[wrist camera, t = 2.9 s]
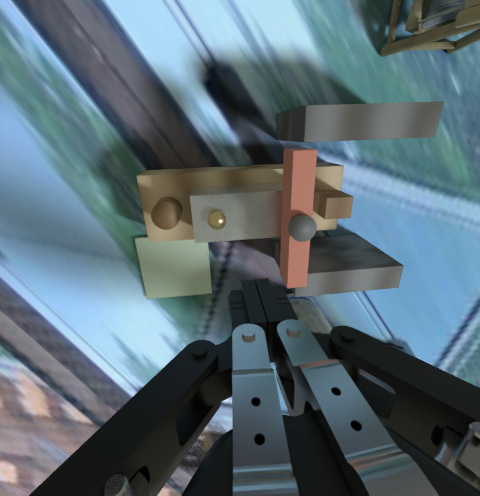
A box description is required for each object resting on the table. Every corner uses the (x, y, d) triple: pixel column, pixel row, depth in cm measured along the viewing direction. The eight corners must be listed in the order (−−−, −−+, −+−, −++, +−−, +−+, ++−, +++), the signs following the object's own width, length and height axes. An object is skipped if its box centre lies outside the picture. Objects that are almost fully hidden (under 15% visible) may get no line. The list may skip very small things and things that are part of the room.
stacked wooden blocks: (375, 110, 34) (443, 101, 24) (354, 251, 42) (398, 287, 32) (137, 118, 31) (105, 110, 22) (162, 267, 39) (147, 310, 30)
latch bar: (307, 148, 24) (323, 150, 21) (299, 272, 29) (311, 290, 26) (281, 149, 24) (294, 151, 20) (278, 273, 29) (287, 292, 26)
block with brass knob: (294, 181, 31) (311, 190, 26) (292, 221, 33) (307, 237, 28) (192, 186, 30) (189, 197, 25) (196, 227, 32) (194, 245, 27)
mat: (206, 232, 38) (206, 233, 37) (212, 291, 42) (212, 293, 41) (135, 237, 37) (134, 238, 36) (147, 296, 41) (147, 299, 40)
